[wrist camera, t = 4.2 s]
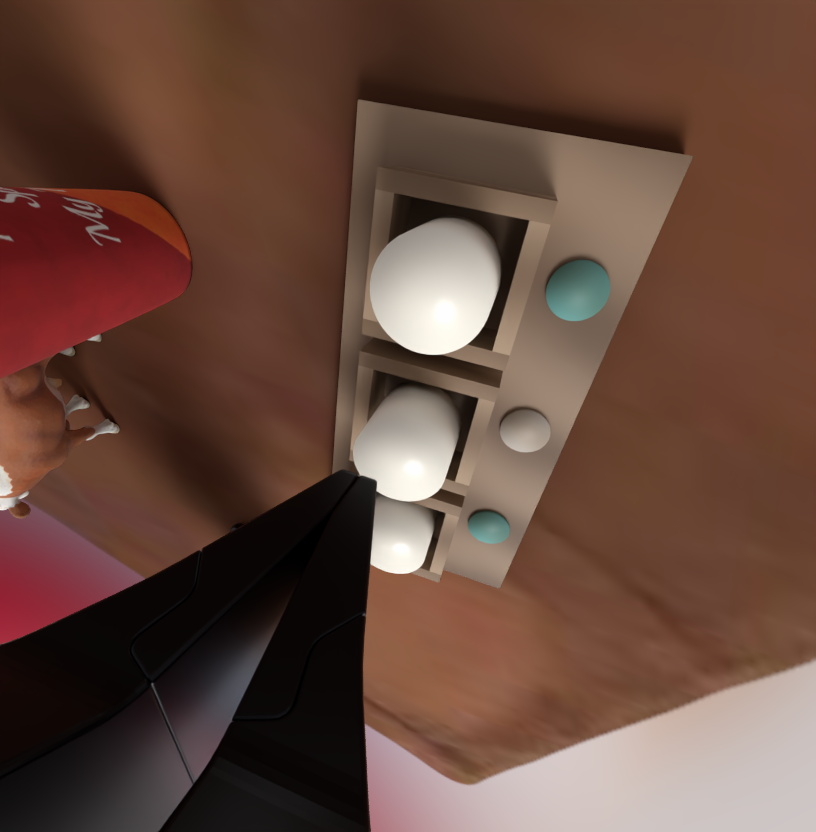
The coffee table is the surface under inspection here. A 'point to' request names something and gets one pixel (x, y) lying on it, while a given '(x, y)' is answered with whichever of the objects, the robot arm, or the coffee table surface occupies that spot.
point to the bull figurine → (36, 430)
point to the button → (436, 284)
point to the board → (497, 302)
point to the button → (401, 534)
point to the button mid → (409, 442)
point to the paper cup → (81, 267)
